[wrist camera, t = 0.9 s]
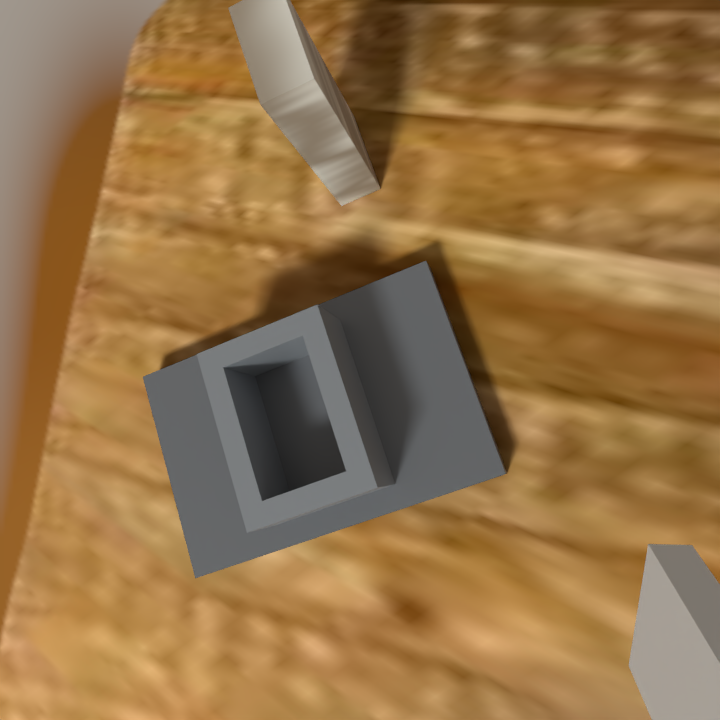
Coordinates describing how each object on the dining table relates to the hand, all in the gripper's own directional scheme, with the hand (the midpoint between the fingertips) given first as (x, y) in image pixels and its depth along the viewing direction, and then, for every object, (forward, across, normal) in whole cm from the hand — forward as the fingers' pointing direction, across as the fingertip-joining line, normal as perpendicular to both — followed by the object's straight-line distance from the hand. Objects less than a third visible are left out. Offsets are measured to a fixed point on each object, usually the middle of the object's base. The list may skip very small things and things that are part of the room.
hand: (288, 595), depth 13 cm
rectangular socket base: (+24, -2, -8) cm, 26 cm away
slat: (+31, -1, +6) cm, 32 cm away
